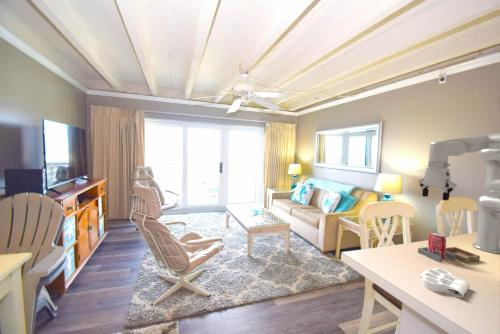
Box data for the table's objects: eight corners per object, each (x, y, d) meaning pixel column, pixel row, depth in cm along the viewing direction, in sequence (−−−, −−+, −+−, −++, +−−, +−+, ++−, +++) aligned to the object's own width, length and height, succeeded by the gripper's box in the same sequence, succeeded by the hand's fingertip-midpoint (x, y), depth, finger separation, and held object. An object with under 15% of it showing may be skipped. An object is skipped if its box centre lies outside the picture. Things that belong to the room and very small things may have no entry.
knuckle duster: (459, 303, 78) (411, 283, 90) (471, 287, 88) (427, 270, 100) (460, 294, 78) (412, 275, 90) (472, 279, 88) (427, 263, 100)
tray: (453, 251, 122) (454, 246, 121) (479, 260, 111) (479, 256, 111) (439, 252, 119) (439, 248, 118) (464, 263, 108) (464, 258, 108)
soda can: (437, 253, 118) (439, 232, 117) (448, 260, 111) (450, 237, 110) (424, 252, 118) (425, 231, 118) (433, 258, 111) (435, 236, 111)
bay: (432, 250, 121) (432, 246, 121) (455, 260, 111) (455, 255, 111) (417, 252, 118) (418, 248, 118) (439, 262, 108) (440, 257, 108)
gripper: (463, 166, 104) (459, 201, 105) (425, 164, 120) (423, 194, 121) (451, 166, 102) (448, 202, 103) (415, 164, 118) (412, 195, 119)
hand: (434, 198), depth 112 cm, fingers open, 9 cm apart
